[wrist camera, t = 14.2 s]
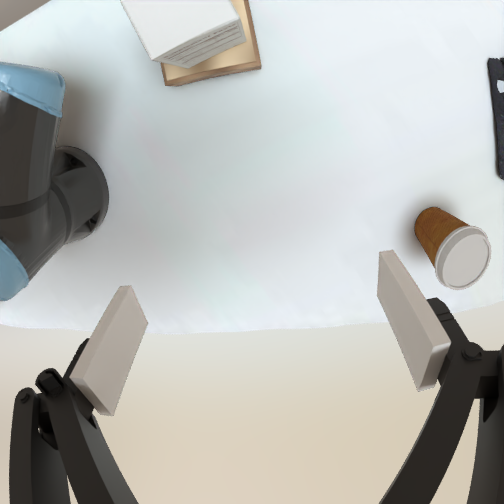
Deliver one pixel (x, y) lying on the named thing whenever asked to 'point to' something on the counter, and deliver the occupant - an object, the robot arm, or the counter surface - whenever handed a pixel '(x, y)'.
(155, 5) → the supplement box
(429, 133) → the counter surface
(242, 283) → the counter surface
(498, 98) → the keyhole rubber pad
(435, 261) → the disposable coffee cup
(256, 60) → the pedestal
